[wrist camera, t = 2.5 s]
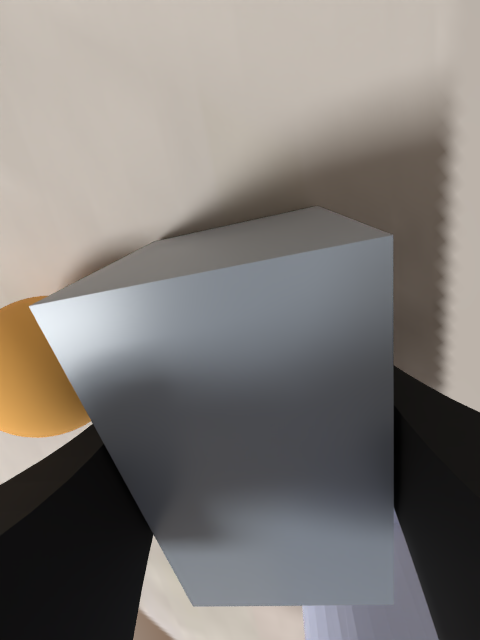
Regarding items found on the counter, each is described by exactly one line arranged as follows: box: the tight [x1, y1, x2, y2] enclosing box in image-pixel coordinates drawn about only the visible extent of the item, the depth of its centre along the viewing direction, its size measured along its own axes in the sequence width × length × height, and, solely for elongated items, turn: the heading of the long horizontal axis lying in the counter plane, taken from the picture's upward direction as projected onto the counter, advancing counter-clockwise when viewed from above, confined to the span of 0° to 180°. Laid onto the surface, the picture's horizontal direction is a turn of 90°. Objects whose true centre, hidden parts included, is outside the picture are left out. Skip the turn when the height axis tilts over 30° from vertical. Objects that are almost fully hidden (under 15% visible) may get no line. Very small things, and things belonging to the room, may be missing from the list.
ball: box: [0, 296, 91, 438], centre depth 11 cm, size 5×5×5 cm
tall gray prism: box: [29, 206, 394, 606], centre depth 10 cm, size 10×6×6 cm, turn 12°
